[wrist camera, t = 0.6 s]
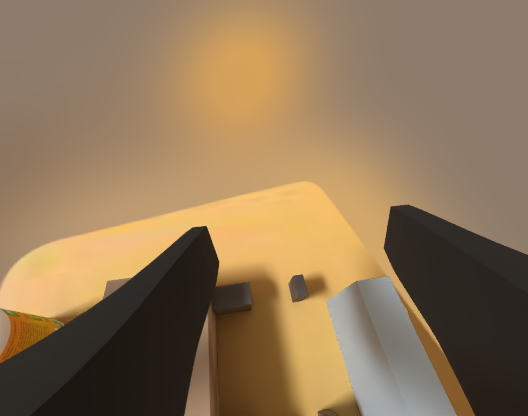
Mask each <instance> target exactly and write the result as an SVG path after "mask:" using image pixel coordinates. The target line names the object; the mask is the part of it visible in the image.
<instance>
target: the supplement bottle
mask: <svg viewBox="0 0 528 416" xmlns="http://www.w3.org/2000/svg"><path fill="white" fill-rule="evenodd" d="M62 326H64V324H63V323H62V322H60V321H58V320H55V319H52V318H47V317H41V316H36V315H31V314H25V313H20V312H15V311H10V310H5V309H0V363H2V362H4V361H5V360H7V359H9V358H11V357H13V356H14V355H16V354H18V353H20V352H21V351H23V350H25V349H26V348H28V347H30V346H32V345H33V344H35V343H37V342H38V341H40V340H42V339H43V338H45V337H47V336H48V335H50V334H51V333H53V332H54V331H56V330H58V329H59V328H61V327H62Z"/></svg>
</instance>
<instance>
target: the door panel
mask: <svg viewBox="0 0 528 416" xmlns="http://www.w3.org/2000/svg"><path fill="white" fill-rule="evenodd" d="M326 304H327V307H328V311H329V314H330V317H331V320H332V324H333V327H334V330H335V333H336V337H337V340H338V343H339V347H340V350H341V353H342V356H343V360H344V363H345V366H346V370H347V373H348V376H349V379H350V383H351V386H352V389H353V392H354V396H355V399H356V402H357V406H358V409H359V412H360V415H361V416H457V415H456V413H455V411H454V409H453V406H452V404H451V402H450V400H449V398H448V396H447V394H446V392H445V390H444V388H443V386H442V384H441V382H440V380H439V378H438V376H437V374H436V371H435V369H434V367H433V365H432V363H431V361H430V359H429V357H428V355H427V353H426V351H425V349H424V347H423V345H422V343H421V341H420V339H419V337H418V334H417V332H416V330H415V328H414V326H413V324H412V322H411V320H410V318H409V316H408V315H409V313H408V310H407V308H406V306H405V305H404V304H403V303H402V302H401V299H400V297H399V295H398V293H397V291H396V289H395V287H394V285H393V283H392V281H391V279H390V277H389V276H386V277H380V278H373V279H367V280H361V281H356V282H354V283H353V284H351V285H350V286H348V287H347V288H345V289H344V290H342V291H341V292H339V293H338V294H336V295H335V296H333V297H332V298H330V299H329V300H327V301H326Z"/></svg>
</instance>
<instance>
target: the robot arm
mask: <svg viewBox="0 0 528 416" xmlns="http://www.w3.org/2000/svg"><path fill="white" fill-rule="evenodd" d="M384 250H385V252H386V254H387V256H388V259H389V261H390V263H391V265H392V267H393V269H394V271H395V273H396V275H397V276H398V278H399V280H400V281H401V283H402V284H403V286H404V288H405V289H406V291H407V292H408V294H409V295H410V297H411V299H412V300H413V302H414V303H415V305H416V307H417V308H418V310H419V311H420V313H421V314H422V316H423V318H424V319H425V321H426V322H427V324H428V325H429V327H430V328H431V330H432V332H433V333H434V335H435V337H436V339H437V340H438V342H439V344H440V346H441V348H442V350H443V352H444V354H445V355H446V357H447V359H448V361H449V363H450V365H451V367H452V369H453V371H454V373H455V375H456V377H457V379H458V381H459V383H460V385H461V387H462V389H463V391H464V393H465V395H466V397H467V399H468V401H469V404H470V406H471V408H472V410H473V412H474V414H475V416H528V255H527V254H524V253H521V252H519V251H516V250H514V249H511V248H509V247H506V246H504V245H501V244H499V243H496V242H494V241H491V240H489V239H487V238H485V237H482V236H480V235H477V234H475V233H473V232H471V231H468V230H466V229H464V228H461V227H459V226H457V225H455V224H452V223H450V222H448V221H446V220H444V219H441V218H439V217H437V216H435V215H432V214H430V213H428V212H426V211H423V210H421V209H418V208H415V207H413V206H410V205H400V206H391V209H390V214H389V220H388V226H387V232H386V238H385V244H384ZM218 268H219V260H218V257H217V254H216V251H215V248H214V246H213V243H212V240H211V237H210V234H209V231H208V229H207V226H202V227H193V228H191V229H190V230H189V231H187V232H186V233H185V234H184V235H182V236H181V237H180V238H179V239H178V240H177V241H175V242H174V243H173V244H172V245H171V246H170V247H169V248H167V249H166V250H165V251H164V252H163V253H162V254H160V255H159V256H158V257H157V258H156V259H155V260H154V261H152V262H151V263H150V264H149V265H147V266H146V267H145V268H144V269H143V270H141V271H140V272H139V273H138V274H136V275H135V276H134V277H133V278H131V279H130V280H129V281H128V282H126V283H125V284H124V285H122V286H121V287H120V288H119V289H117V290H116V291H114V292H113V293H112V294H110V295H109V296H108V297H106V298H105V299H103V300H102V301H100V302H99V303H98V304H96V305H95V306H93V307H92V308H90V309H89V310H87V311H86V312H84V313H83V314H81V315H80V316H78V317H77V318H75V319H73V320H72V321H70V322H69V323H67V324H66V325H64V326H62V327H61V328H59V329H58V330H56V331H54V332H53V333H51V334H50V335H48V336H47V337H45V338H43V339H42V340H40V341H38V342H37V343H35V344H33V345H32V346H30V347H28V348H26V349H25V350H23V351H21V352H20V353H18V354H16V355H14V356H13V357H11V358H9V359H7V360H5V361H4V362H2V363H0V416H184V415H185V409H186V404H187V398H188V392H189V387H190V381H191V376H192V371H193V366H194V362H195V357H196V352H197V348H198V344H199V340H200V337H201V334H202V330H203V327H204V324H205V320H206V317H207V313H208V310H209V307H210V303H211V300H212V297H213V293H214V290H215V286H216V281H217V275H218Z"/></svg>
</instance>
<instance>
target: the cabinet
mask: <svg viewBox="0 0 528 416" xmlns="http://www.w3.org/2000/svg"><path fill="white" fill-rule="evenodd" d="M130 279H131V278H127V279H119V280H112V281H107V285H106V289H105V293H104V298H103V299H105V298H106V297H108V296H109V295H110V294H112V293H113V292H114V291H116V290H117V289H119V288H120V287H121V286H122V285H124V284H125V283H126V282H128V281H129V280H130ZM289 288H290V292H291V297H292V301H293V302H297V301H302V300H303V299H304V298H305V297H306V296H307V295H308V292H307V288H306V285H305V281H304V277H303V274H302V275H295V276H293V277H292V279H291V281H290V282H289ZM251 306H252V301H251V293H250V285H249V282H248V283H242V284H235V285H228V286H222V287H215V290H214V293H213V297H212V300H211V303H210V307H209V310H208V313H207V317H206V320H205V324H204V327H203V330H202V334H201V337H200V340H199V344H198V348H197V352H196V357H195V362H194V366H193V371H192V376H191V381H190V387H189V392H188V398H187V404H186V409H185V415H184V416H220V413H219V388H218V364H217V340H216V315H221V314H227V313H232V312H238V311H244V310H250V309H251ZM318 416H338V415H337V414H335V413H334V412H332V411H330V410H329V409H327V410H323V411H319V412H318Z"/></svg>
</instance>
